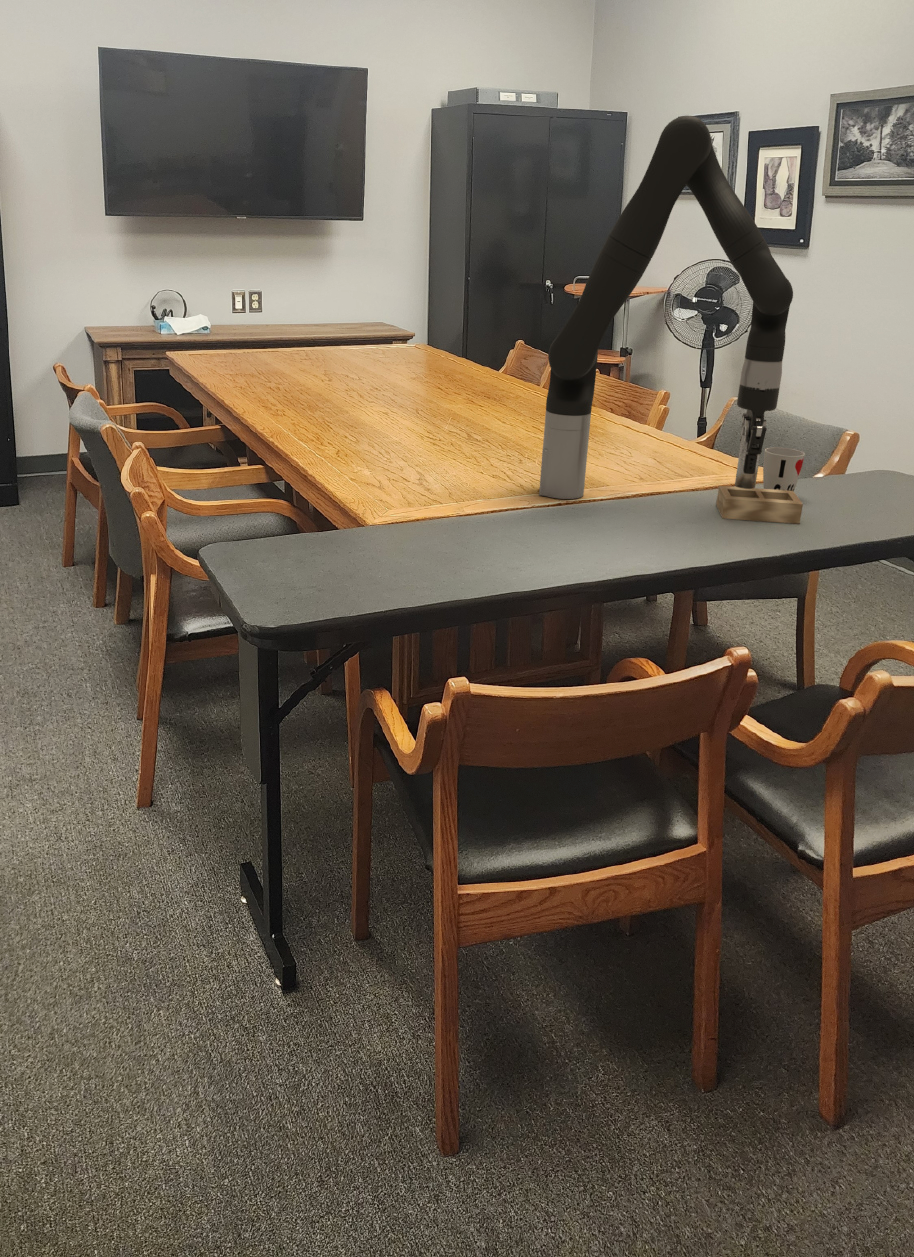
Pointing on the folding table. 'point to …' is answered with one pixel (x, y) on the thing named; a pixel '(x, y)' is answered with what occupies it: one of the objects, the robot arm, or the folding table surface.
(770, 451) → the cup
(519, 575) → the folding table surface
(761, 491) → the frame
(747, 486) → the grey rounded cylinder
